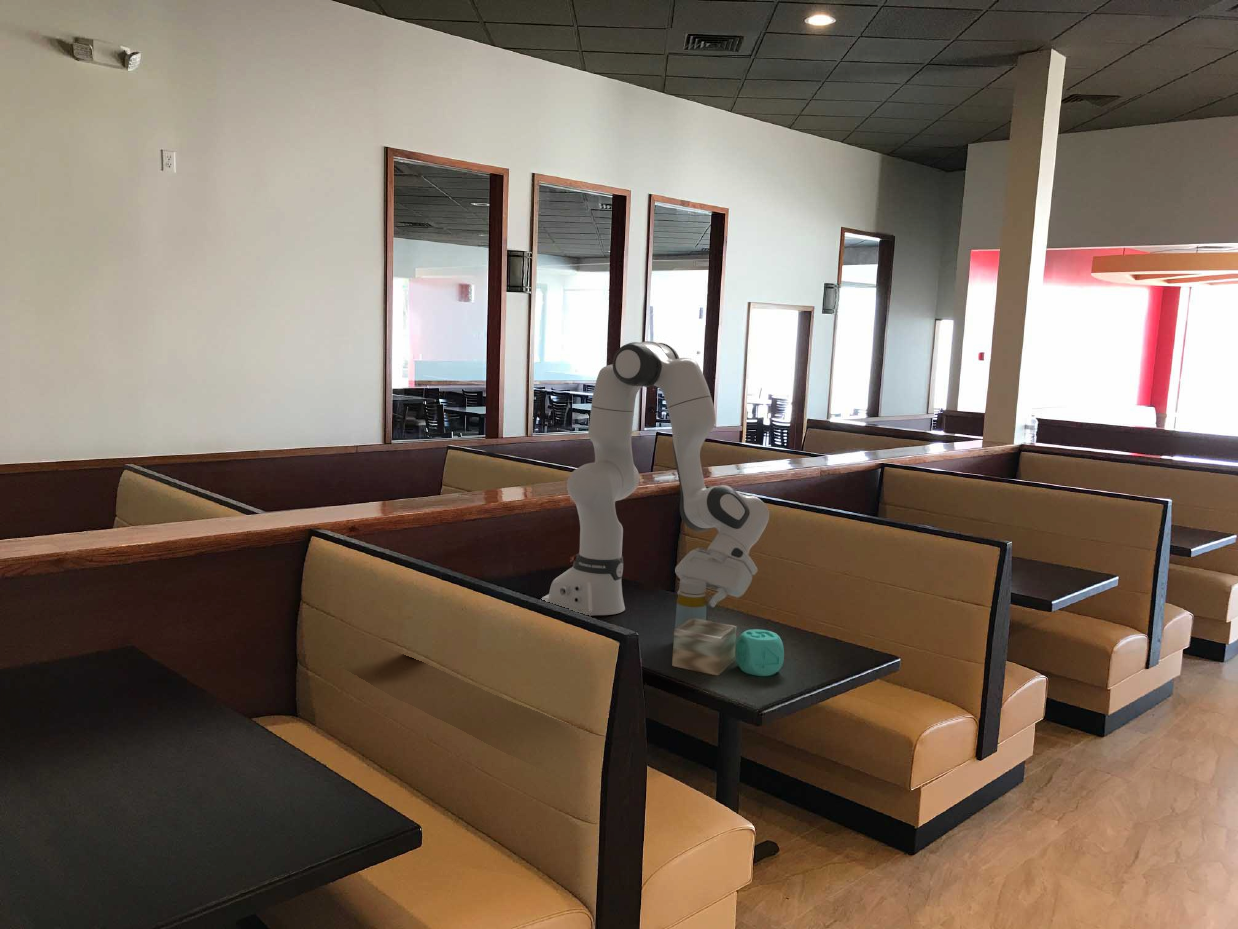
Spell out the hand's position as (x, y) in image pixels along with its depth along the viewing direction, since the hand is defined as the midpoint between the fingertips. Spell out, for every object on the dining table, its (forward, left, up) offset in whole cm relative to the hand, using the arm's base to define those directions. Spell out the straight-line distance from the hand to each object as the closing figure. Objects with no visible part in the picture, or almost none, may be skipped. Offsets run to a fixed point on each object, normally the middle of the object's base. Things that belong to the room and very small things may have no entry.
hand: (694, 600), depth 218 cm
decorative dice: (+19, -9, -11) cm, 24 cm away
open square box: (+8, -12, -10) cm, 18 cm away
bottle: (0, -1, -11) cm, 11 cm away
